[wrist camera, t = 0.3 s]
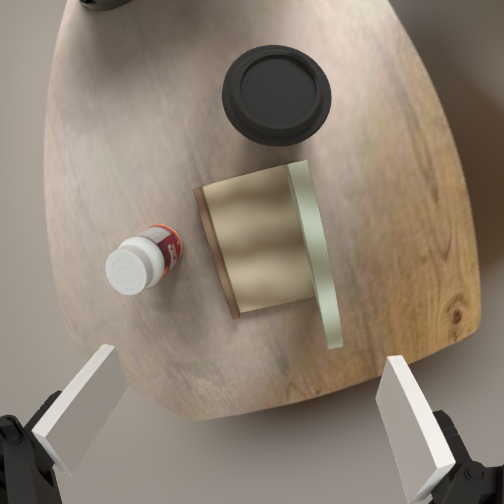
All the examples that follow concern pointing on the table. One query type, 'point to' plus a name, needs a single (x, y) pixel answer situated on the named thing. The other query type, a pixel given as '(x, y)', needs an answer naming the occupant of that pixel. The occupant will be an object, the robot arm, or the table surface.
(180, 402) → the table surface
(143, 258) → the pill bottle
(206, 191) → the wooden l-shaped piece
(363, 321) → the table surface
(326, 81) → the coffee cup
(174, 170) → the table surface
